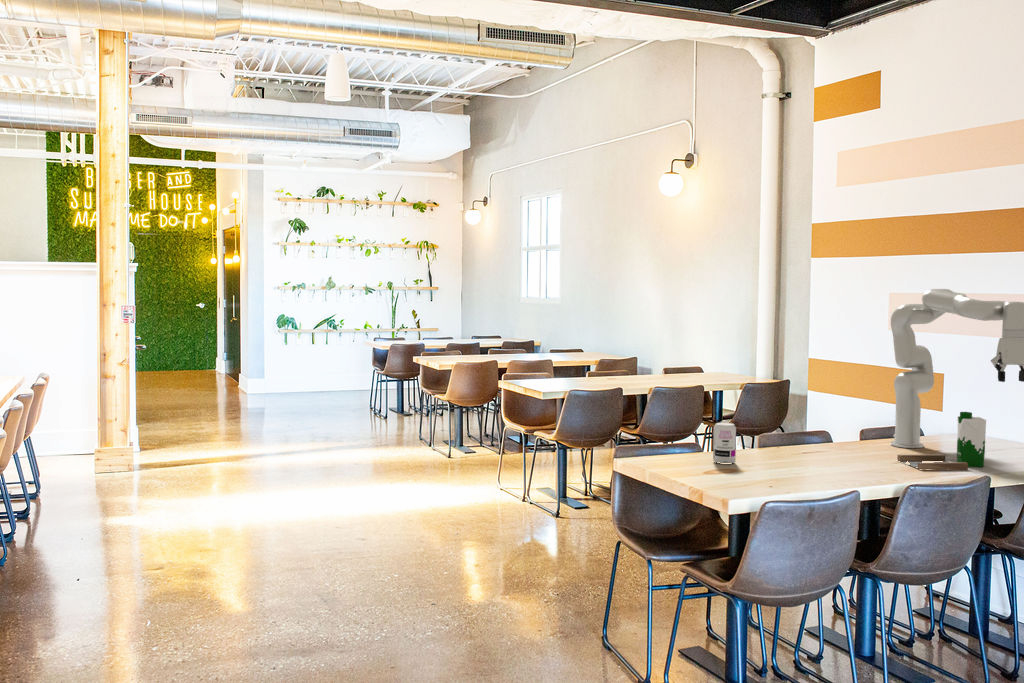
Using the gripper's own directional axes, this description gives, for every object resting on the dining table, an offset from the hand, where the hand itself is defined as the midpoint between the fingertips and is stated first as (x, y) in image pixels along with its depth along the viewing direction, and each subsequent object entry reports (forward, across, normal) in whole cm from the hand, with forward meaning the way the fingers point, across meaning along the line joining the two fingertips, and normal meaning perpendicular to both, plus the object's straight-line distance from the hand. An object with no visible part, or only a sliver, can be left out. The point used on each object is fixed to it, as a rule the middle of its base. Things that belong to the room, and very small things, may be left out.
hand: (1011, 381), depth 321 cm
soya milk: (+32, +15, 0) cm, 35 cm away
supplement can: (+32, +107, -8) cm, 112 cm away
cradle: (+32, +30, 0) cm, 44 cm away
